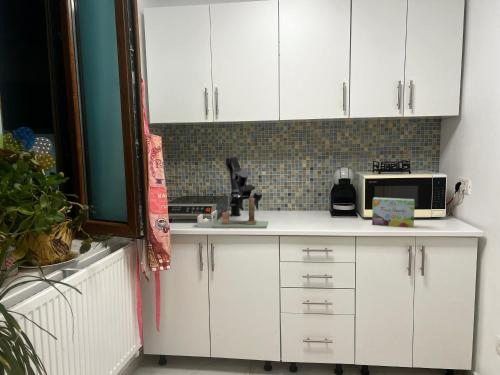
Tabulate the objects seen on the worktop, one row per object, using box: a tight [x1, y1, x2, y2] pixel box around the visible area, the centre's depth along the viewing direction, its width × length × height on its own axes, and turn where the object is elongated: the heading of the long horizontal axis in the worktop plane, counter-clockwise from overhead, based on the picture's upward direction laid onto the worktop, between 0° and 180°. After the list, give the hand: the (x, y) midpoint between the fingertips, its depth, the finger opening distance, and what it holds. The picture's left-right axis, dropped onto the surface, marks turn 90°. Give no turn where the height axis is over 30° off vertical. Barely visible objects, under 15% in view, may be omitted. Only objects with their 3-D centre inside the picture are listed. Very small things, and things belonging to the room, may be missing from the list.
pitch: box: [196, 209, 269, 229], centre depth 208 cm, size 14×39×8 cm, turn 83°
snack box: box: [371, 196, 415, 228], centre depth 199 cm, size 21×6×15 cm, turn 66°
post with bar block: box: [221, 198, 258, 224], centre depth 207 cm, size 5×20×14 cm, turn 83°
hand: (250, 209), depth 207 cm, fingers open, 9 cm apart
